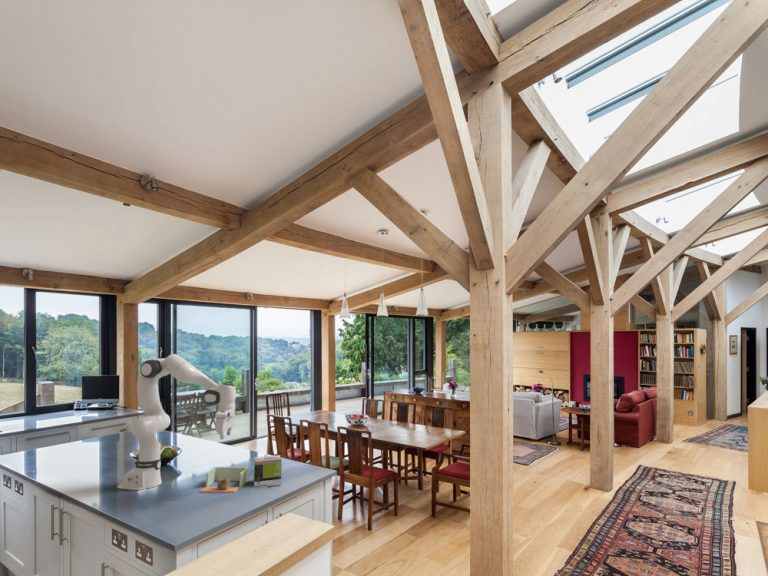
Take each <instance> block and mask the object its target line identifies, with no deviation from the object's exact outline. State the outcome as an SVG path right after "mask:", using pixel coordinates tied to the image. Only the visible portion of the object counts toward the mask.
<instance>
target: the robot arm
mask: <svg viewBox="0 0 768 576" xmlns="http://www.w3.org/2000/svg"><path fill="white" fill-rule="evenodd" d="M139 373H140V375H138V376H137V379H136V380H137V382H136V393H137V402H138V403H137V404H138V408H139V409H141V410H142V411H143V413H144V415H145V416H141V417H140V418H138V419H137V420H134V421H133V423H131V426H130V432H131V434H132V435H133V436H134V437H135V438H136V440H137V443H138V459H137V460H136V461H134V462H133V465H134V467H133V468H132V469H130V470H129V471H127V472H126V473H125V474H124V475H123V478H122V482H120V483H119V484H117V489H119V490H132V491H142V490H145V489H151V488H154V487H158V486H161V484H162V483H163V481H162V477H161V475H162V474H161V464H162V463H161V462H162V457H161V449H162V445H161V443H160V442H159V441H158V438H157V433H161V432H163V431H165V430H166V429H167V428H169V426H170V425H171V418H170V415H168V414H167V412H165V410H164V409H163V407H162V404H161V400H160V392H159V385H158V383H159V380H160V379H164V378H166V377H168V376H170V375H171V376H172V377H173V378H174V379H176V380H177V381H179V382H180V383H183V384H193V385H199V386H201V387H203V389H206V390H205V391H204V392H203V394H202V400H203V403H204V404H205V405H207V406H211V407H212V406H217V405H218V410H217V411H216V413H215V414H214V415H215V416H214V418H215V424H214V425H215V432H216V433H218V434H219V439H220V440H224V439H225V435H224V434H225V431H226V436H231V433H232V429H233V427H234V426H235V425H236V398H237V397H236V396H237V391H236V385H235V384H234V383H232V382H227V381H226V382H222V383H220V384H219V383H218V382H217V381H215V380H214V379H213V378H211V377H210V376H208V375H206V374H205V373H204V372H202V371H201V370H199V369H197V368H196V367H195V366H194V365H192V363H190V362H189V361H187V359H185V358H184V357H182V356H180V355H178V354H176V353H172V354H169V355H167V356H166V357H165V358H164V357H163V358H161V357H160V358H159V357H158V358H153V359H148V360H145V361H143V362H142V363H141V364H140V367H139Z"/></svg>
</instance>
